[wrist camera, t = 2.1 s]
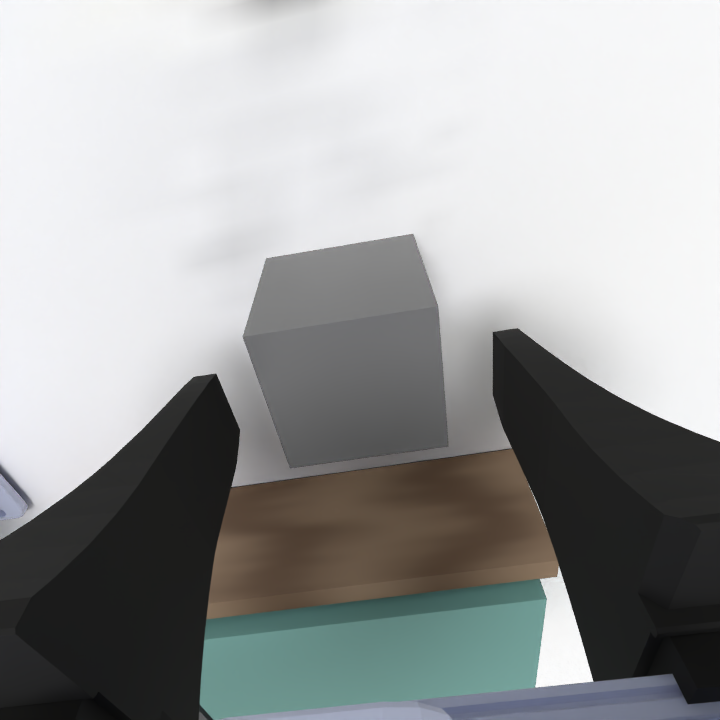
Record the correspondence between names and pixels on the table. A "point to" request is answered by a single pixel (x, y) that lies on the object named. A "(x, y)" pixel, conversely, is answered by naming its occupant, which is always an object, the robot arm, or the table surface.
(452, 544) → the frame
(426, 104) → the table surface
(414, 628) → the trapdoor
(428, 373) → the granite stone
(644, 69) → the table surface
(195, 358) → the table surface
